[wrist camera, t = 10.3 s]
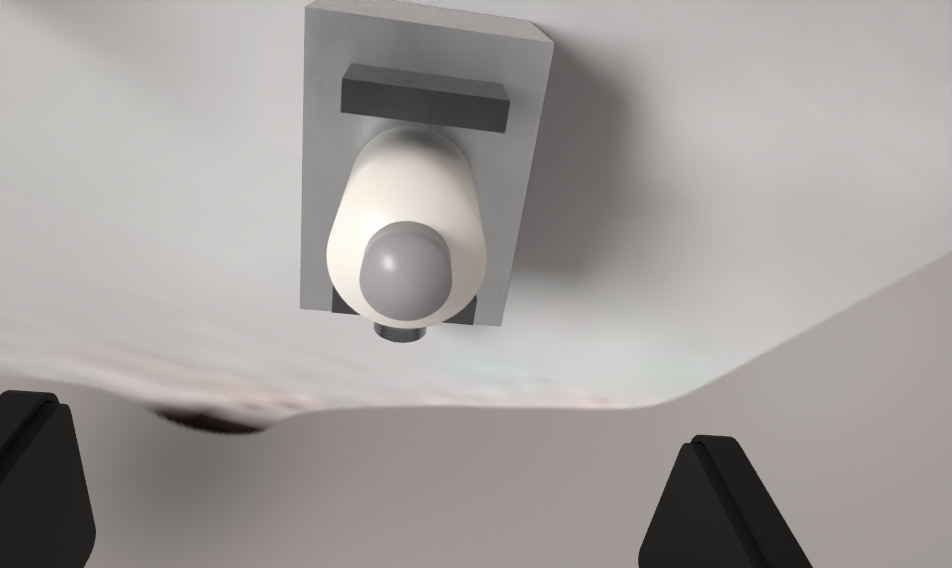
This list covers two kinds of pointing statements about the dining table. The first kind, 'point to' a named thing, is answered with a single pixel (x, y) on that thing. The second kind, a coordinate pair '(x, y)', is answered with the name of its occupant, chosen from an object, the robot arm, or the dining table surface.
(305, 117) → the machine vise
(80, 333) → the dining table surface
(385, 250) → the bottle
